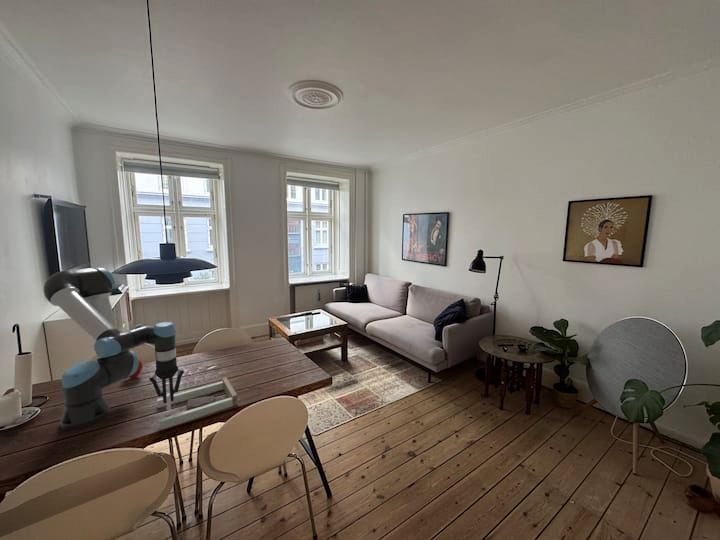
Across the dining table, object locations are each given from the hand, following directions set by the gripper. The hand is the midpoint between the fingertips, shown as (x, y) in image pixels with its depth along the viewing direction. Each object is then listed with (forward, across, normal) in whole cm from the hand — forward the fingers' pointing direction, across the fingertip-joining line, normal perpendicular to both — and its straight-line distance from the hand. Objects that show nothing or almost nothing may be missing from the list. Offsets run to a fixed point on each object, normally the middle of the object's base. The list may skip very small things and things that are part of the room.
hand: (168, 408), depth 128 cm
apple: (+4, -13, +48) cm, 49 cm away
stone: (+3, +12, -4) cm, 13 cm away
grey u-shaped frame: (+2, +11, 0) cm, 11 cm away
